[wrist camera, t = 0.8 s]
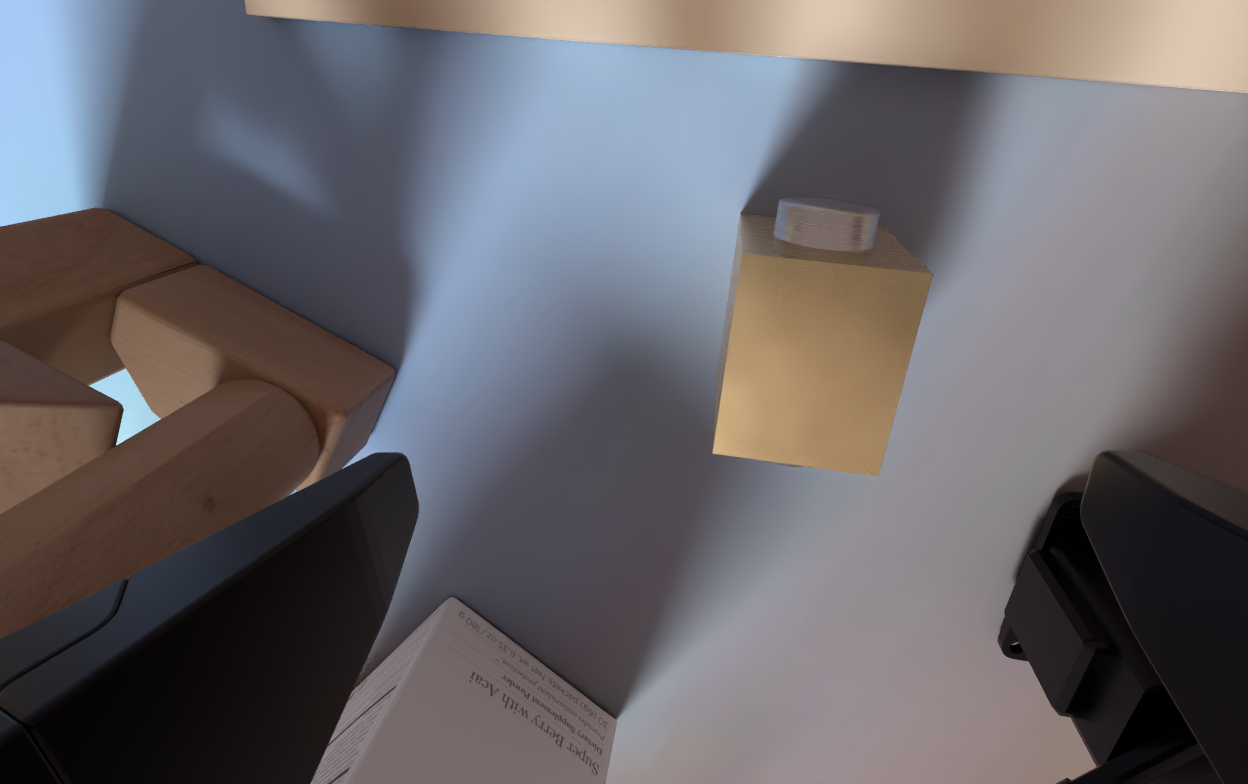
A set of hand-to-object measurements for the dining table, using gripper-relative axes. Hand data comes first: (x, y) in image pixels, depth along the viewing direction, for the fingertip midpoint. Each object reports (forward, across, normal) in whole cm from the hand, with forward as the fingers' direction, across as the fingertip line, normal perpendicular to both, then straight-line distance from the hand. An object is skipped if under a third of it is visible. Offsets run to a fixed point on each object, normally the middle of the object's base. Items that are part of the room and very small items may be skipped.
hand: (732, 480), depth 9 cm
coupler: (+12, -2, +2) cm, 12 cm away
